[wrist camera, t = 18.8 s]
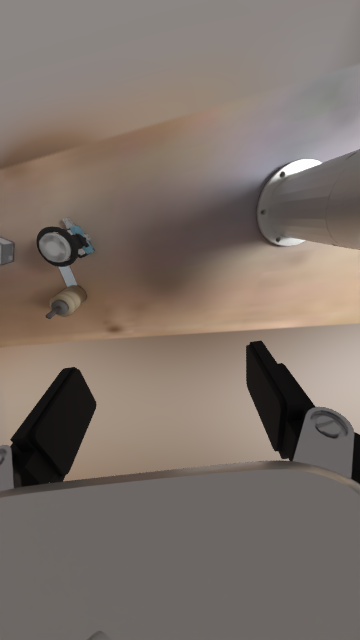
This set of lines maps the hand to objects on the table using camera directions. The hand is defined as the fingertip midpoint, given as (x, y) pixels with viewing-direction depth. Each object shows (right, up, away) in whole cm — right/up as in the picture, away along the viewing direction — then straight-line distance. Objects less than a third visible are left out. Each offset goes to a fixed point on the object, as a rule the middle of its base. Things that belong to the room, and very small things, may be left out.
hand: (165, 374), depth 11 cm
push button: (-17, +18, +25) cm, 35 cm away
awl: (-20, +8, +29) cm, 36 cm away
